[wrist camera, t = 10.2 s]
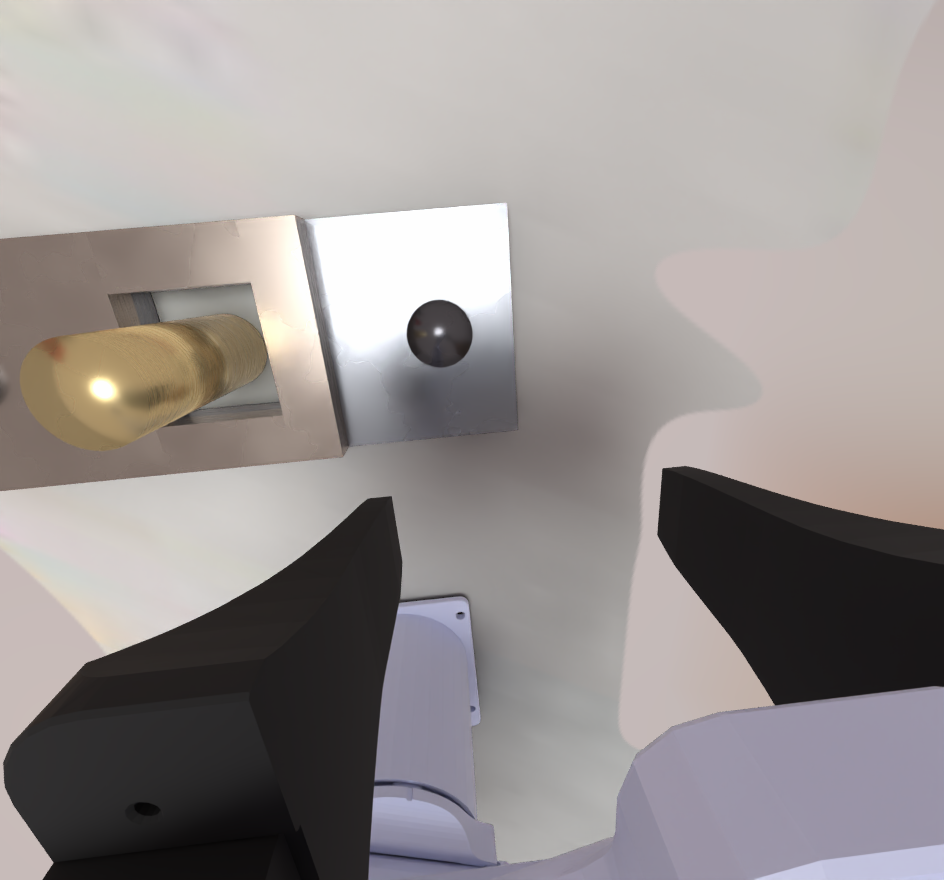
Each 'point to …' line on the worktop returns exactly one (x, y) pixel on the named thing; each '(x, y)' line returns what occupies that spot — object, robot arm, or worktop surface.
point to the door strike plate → (279, 334)
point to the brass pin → (136, 377)
